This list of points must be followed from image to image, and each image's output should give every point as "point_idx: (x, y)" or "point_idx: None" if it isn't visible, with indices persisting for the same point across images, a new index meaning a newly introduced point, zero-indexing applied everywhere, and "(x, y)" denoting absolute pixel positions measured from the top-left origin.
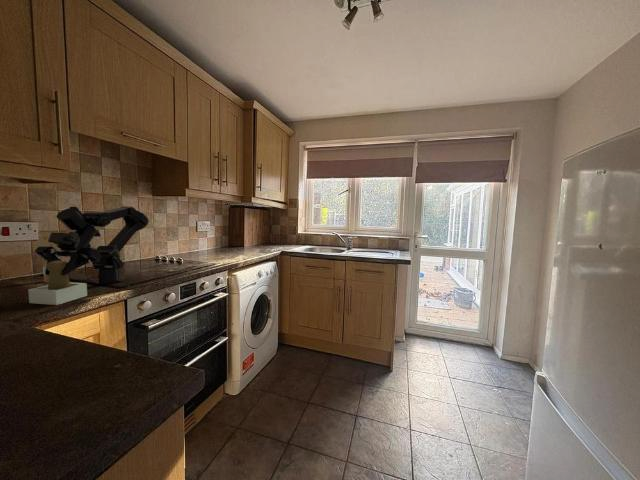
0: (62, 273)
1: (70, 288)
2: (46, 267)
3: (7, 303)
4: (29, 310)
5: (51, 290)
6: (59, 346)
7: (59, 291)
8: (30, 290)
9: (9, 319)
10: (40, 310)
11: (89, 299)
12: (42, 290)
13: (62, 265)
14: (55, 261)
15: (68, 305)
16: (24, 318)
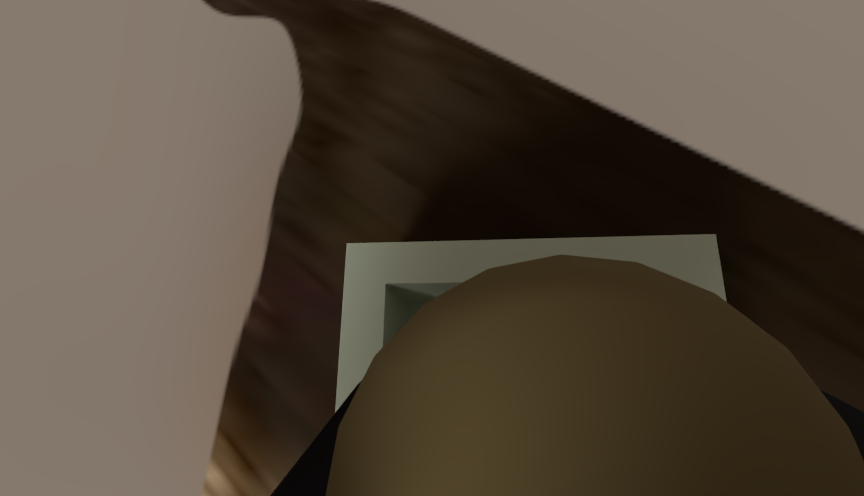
0: (359, 382)
1: (338, 404)
2: (845, 407)
3: (836, 229)
4: (451, 147)
5: (417, 256)
6: None
7: (346, 280)
8: (677, 236)
9: (393, 20)
10: (378, 163)
11: (251, 464)
12: (516, 240)
13: (337, 435)
14: (551, 417)
15: (287, 288)
16: (328, 48)
